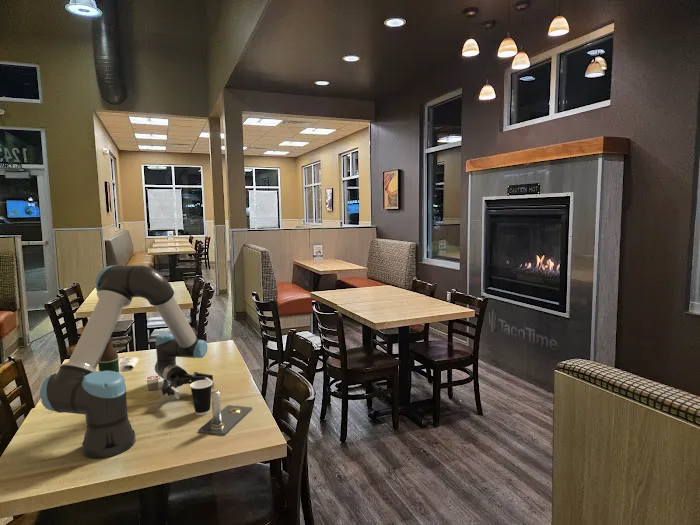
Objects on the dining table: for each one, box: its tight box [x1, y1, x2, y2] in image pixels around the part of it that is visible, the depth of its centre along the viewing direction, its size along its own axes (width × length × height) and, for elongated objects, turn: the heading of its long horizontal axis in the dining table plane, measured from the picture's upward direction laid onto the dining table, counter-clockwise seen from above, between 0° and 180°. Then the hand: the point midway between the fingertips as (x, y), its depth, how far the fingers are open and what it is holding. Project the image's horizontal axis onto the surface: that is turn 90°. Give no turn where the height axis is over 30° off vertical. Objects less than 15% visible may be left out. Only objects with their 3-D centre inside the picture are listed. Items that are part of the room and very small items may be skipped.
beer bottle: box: [97, 335, 120, 373], centre depth 199 cm, size 8×8×24 cm
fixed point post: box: [211, 390, 223, 428], centre depth 156 cm, size 4×4×12 cm
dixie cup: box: [189, 380, 212, 416], centre depth 169 cm, size 8×8×11 cm
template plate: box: [197, 404, 253, 436], centre depth 163 cm, size 20×10×1 cm, turn 166°
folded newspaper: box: [118, 355, 140, 373], centre depth 220 cm, size 3×18×15 cm
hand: (196, 390), depth 174 cm, fingers open, 13 cm apart
